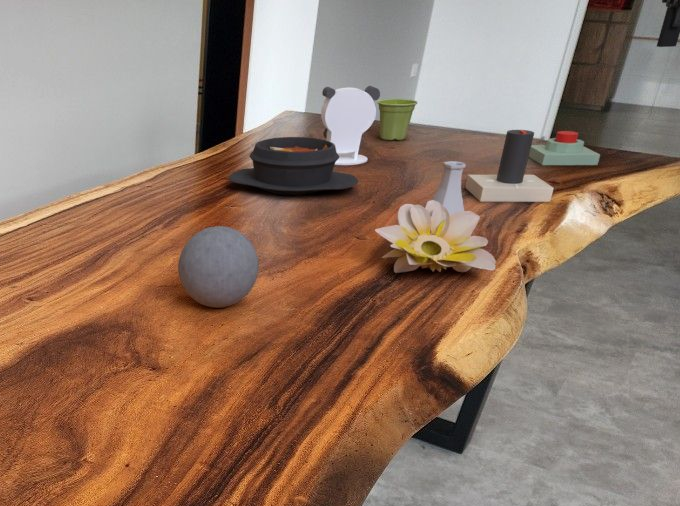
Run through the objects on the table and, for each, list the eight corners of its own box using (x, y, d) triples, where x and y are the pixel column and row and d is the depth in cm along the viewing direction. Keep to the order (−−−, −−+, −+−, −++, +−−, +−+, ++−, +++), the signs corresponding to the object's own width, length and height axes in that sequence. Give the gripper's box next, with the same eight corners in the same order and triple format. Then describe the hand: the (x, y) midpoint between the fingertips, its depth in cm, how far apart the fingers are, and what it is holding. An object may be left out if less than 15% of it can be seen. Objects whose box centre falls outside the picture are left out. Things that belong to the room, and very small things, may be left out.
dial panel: (530, 187, 137) (534, 173, 135) (550, 202, 128) (554, 186, 127) (465, 187, 138) (467, 173, 137) (480, 201, 129) (483, 186, 128)
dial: (493, 177, 134) (504, 128, 129) (518, 177, 133) (529, 127, 129) (500, 183, 130) (512, 132, 126) (526, 183, 130) (538, 132, 125)
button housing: (578, 155, 159) (583, 136, 157) (597, 165, 151) (603, 145, 148) (525, 155, 160) (530, 136, 158) (542, 165, 152) (547, 145, 150)
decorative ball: (182, 322, 88) (182, 242, 83) (174, 291, 96) (174, 217, 91) (263, 318, 88) (268, 238, 83) (248, 288, 97) (252, 214, 91)
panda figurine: (361, 153, 167) (370, 83, 159) (377, 164, 157) (387, 89, 149) (310, 155, 166) (316, 84, 159) (322, 165, 157) (330, 91, 149)
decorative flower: (382, 277, 94) (395, 197, 91) (361, 267, 105) (372, 196, 102) (498, 284, 93) (515, 205, 90) (465, 274, 104) (479, 203, 101)
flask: (451, 218, 121) (463, 157, 116) (475, 230, 115) (489, 166, 110) (411, 221, 120) (421, 159, 115) (433, 234, 114) (445, 169, 109)
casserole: (361, 181, 145) (366, 137, 140) (351, 205, 130) (358, 157, 125) (239, 174, 152) (241, 132, 148) (217, 196, 137) (218, 150, 133)
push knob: (571, 140, 155) (574, 130, 154) (578, 144, 152) (581, 134, 151) (551, 141, 156) (554, 131, 154) (558, 144, 152) (561, 134, 151)
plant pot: (365, 139, 181) (370, 102, 176) (385, 133, 186) (390, 97, 182) (399, 143, 175) (404, 105, 170) (418, 137, 180) (424, 100, 176)
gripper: (666, -100, 131) (628, 45, 142) (706, -108, 119) (662, 49, 131) (711, -103, 130) (669, 43, 141) (756, -112, 118) (706, 47, 130)
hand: (666, 46), depth 136 cm, fingers closed
